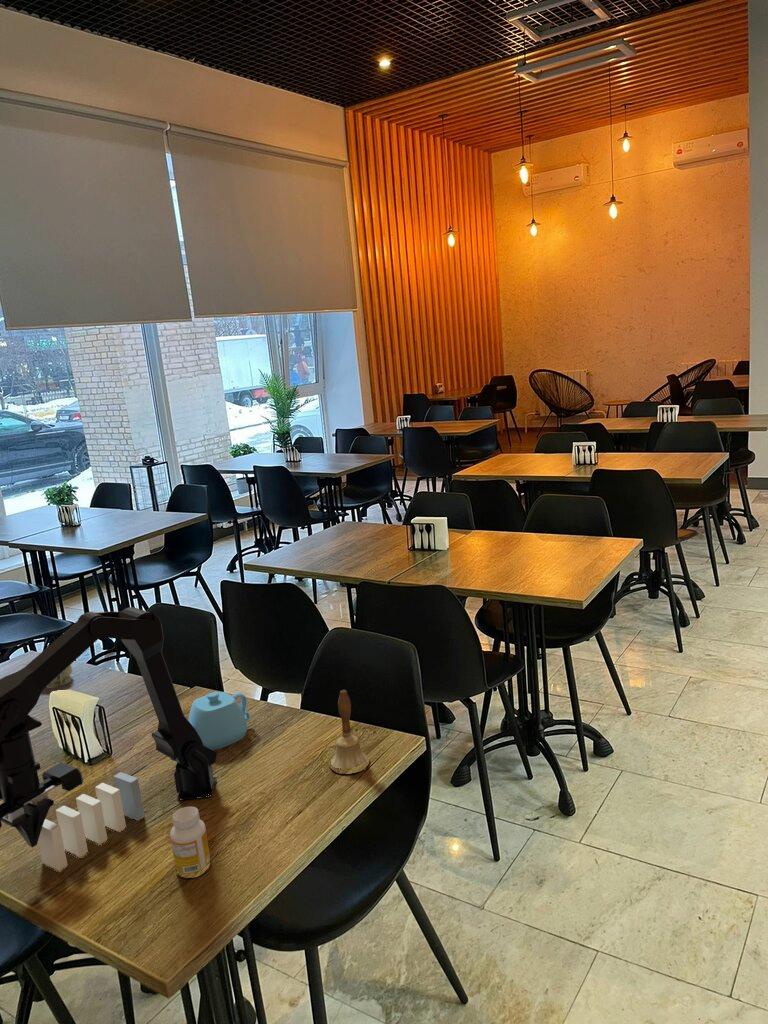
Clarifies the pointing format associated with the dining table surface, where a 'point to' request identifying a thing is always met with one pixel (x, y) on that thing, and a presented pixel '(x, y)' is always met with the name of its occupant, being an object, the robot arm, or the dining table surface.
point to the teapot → (219, 719)
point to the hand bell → (347, 739)
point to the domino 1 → (52, 845)
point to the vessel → (61, 678)
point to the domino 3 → (92, 818)
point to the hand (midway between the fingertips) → (32, 845)
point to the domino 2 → (72, 830)
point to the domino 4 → (111, 806)
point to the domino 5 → (129, 795)
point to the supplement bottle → (189, 841)
